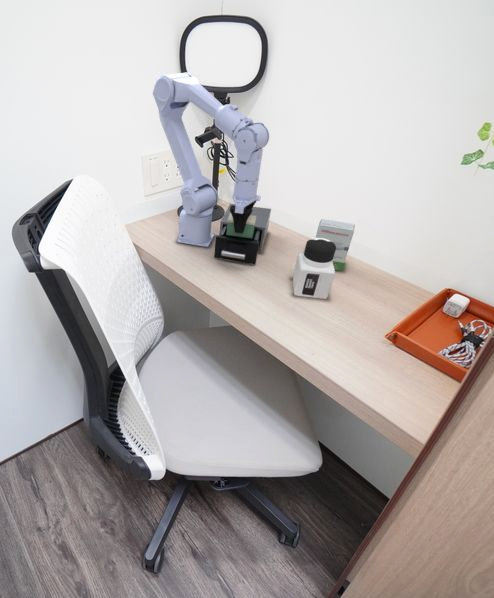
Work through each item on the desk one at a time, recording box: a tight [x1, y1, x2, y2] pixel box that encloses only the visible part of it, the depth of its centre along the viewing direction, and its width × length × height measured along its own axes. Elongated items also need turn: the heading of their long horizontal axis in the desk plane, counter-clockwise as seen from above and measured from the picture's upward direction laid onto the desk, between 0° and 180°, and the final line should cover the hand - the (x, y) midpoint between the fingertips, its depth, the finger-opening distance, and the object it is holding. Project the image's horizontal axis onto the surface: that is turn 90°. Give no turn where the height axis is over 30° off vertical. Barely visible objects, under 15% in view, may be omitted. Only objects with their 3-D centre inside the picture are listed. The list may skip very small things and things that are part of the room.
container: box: [292, 237, 336, 300], centre depth 86 cm, size 8×8×13 cm
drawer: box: [213, 225, 261, 266], centre depth 99 cm, size 17×11×6 cm
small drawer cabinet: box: [218, 203, 272, 254], centre depth 108 cm, size 14×13×8 cm
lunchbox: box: [226, 213, 256, 238], centre depth 97 cm, size 7×4×4 cm, turn 75°
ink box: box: [315, 218, 355, 272], centre depth 96 cm, size 9×5×12 cm, turn 66°
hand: (240, 228), depth 97 cm, fingers closed on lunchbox, 4 cm apart
